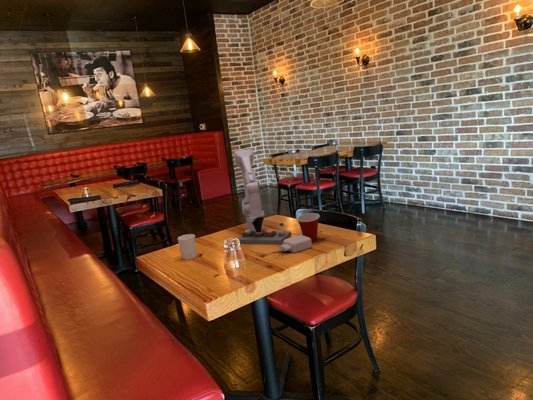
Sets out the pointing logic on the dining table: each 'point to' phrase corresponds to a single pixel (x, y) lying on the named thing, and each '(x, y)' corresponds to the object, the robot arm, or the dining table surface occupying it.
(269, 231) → the button terracotta
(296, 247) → the white bottle
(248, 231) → the button sage
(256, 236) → the control panel
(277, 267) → the dining table surface
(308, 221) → the plastic cup
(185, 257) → the white cup
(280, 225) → the toggle lever
